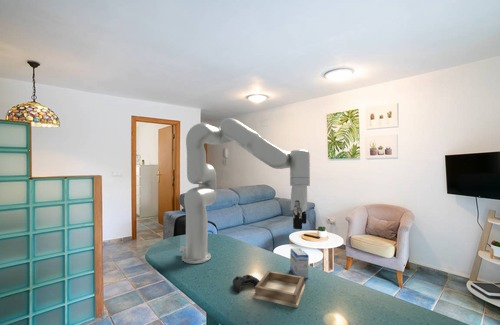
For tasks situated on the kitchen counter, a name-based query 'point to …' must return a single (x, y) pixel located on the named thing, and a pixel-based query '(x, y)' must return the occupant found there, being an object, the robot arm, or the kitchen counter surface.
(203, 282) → the kitchen counter surface
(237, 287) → the gaming controller
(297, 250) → the medicine box
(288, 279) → the wooden tray
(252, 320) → the kitchen counter surface
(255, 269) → the kitchen counter surface
